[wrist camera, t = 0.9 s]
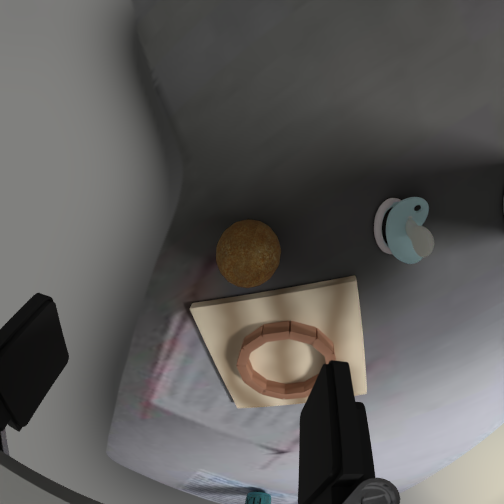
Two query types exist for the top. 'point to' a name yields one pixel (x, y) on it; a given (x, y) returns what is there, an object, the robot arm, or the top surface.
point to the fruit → (248, 253)
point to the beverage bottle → (258, 498)
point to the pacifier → (404, 229)
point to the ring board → (283, 340)
